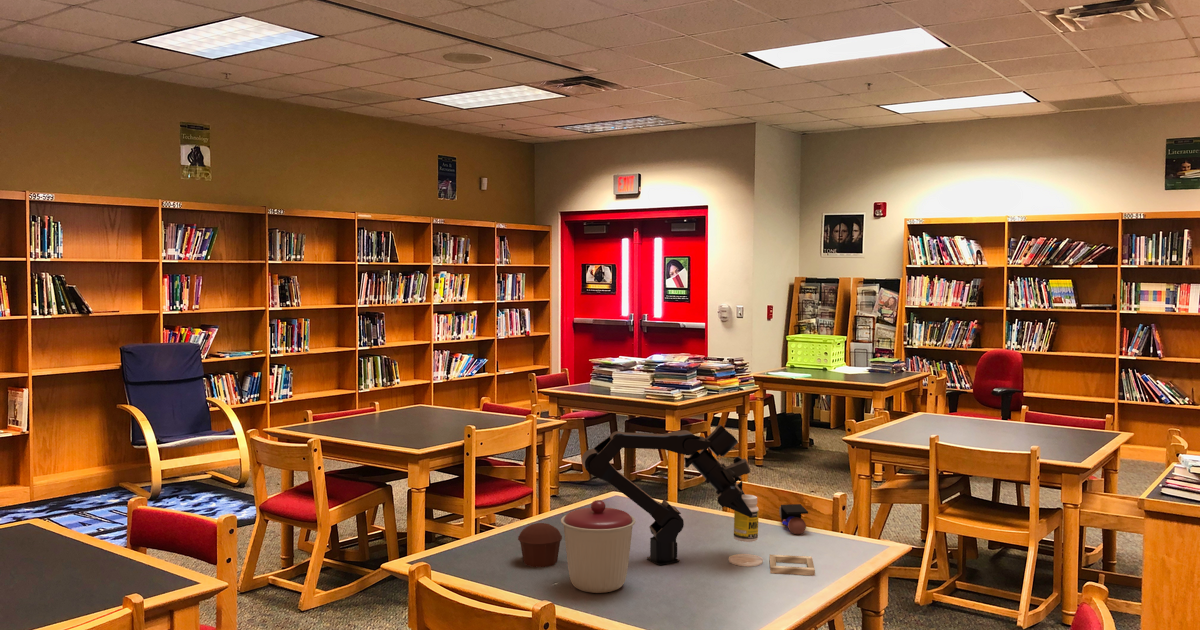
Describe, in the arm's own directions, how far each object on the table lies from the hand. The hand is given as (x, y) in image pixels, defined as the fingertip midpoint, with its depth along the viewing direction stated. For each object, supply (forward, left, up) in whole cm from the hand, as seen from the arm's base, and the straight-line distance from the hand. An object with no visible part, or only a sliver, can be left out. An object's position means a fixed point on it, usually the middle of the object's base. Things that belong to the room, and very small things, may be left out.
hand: (751, 512), depth 240 cm
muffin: (-49, +27, -13) cm, 57 cm away
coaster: (-1, +1, -13) cm, 13 cm away
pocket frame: (+6, -9, -13) cm, 17 cm away
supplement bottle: (-1, +1, -7) cm, 7 cm away
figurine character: (+31, +19, -13) cm, 39 cm away
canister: (-45, +3, -13) cm, 47 cm away
